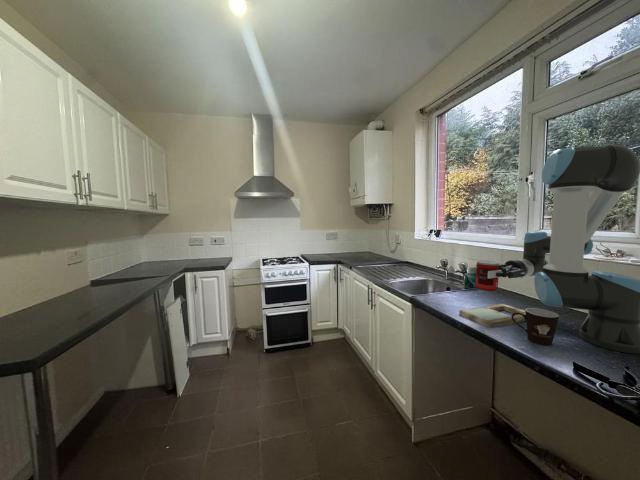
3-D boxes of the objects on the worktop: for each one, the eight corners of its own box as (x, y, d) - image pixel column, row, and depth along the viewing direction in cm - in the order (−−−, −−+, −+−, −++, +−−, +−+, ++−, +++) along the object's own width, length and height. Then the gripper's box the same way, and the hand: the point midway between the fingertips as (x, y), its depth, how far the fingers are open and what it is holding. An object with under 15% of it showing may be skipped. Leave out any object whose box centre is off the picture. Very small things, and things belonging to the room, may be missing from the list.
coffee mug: (560, 342, 88) (562, 313, 87) (551, 350, 83) (554, 319, 82) (518, 330, 97) (520, 304, 96) (509, 336, 93) (510, 308, 92)
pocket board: (535, 318, 109) (536, 313, 108) (490, 327, 100) (490, 322, 100) (502, 307, 122) (502, 303, 121) (459, 314, 113) (459, 309, 113)
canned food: (491, 286, 111) (492, 260, 110) (502, 291, 103) (503, 263, 102) (471, 285, 112) (473, 260, 111) (481, 291, 104) (483, 263, 103)
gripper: (544, 283, 104) (503, 288, 96) (494, 272, 123) (456, 276, 115) (546, 264, 103) (505, 268, 95) (495, 256, 122) (457, 259, 115)
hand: (478, 272), depth 105 cm, fingers closed on canned food, 8 cm apart
